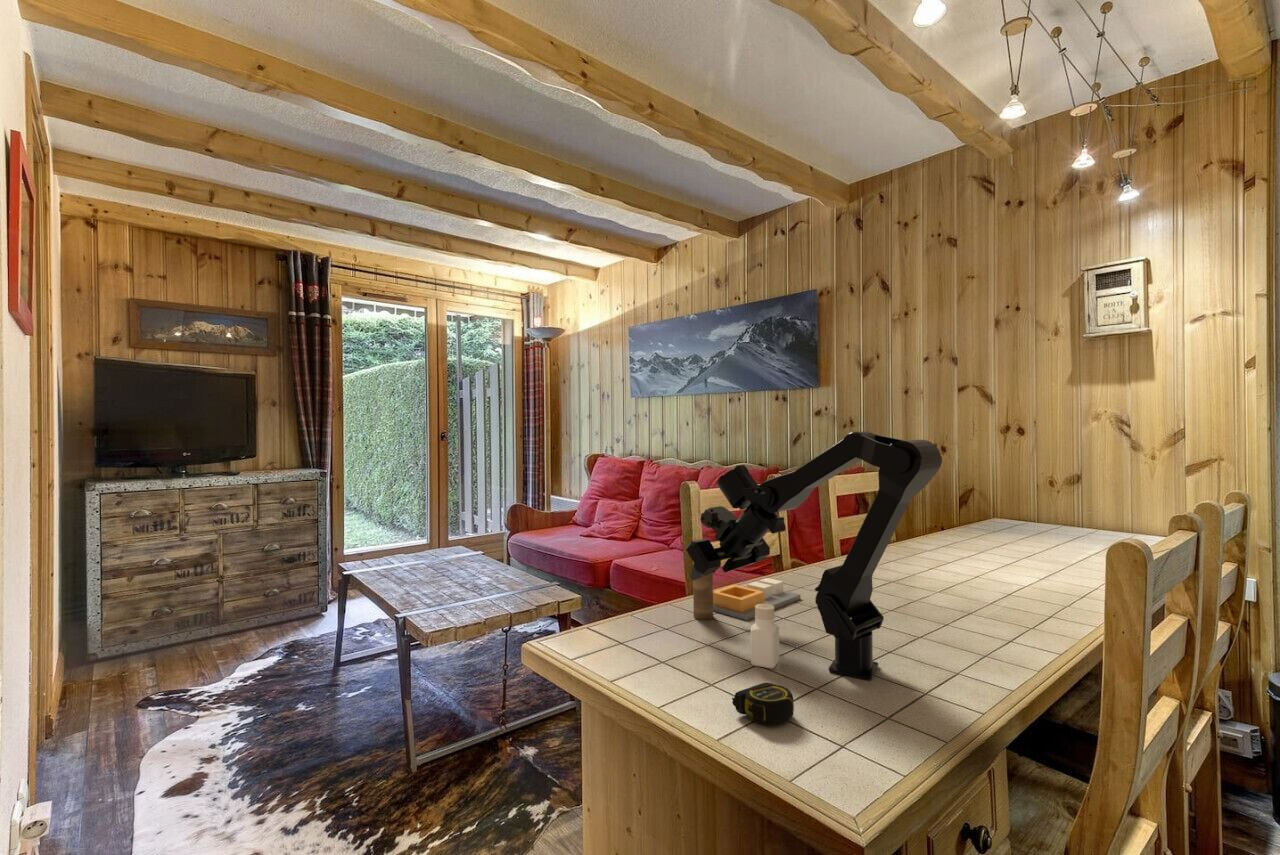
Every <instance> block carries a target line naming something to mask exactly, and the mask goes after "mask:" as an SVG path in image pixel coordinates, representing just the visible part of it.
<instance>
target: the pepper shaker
mask: <svg viewBox="0 0 1280 855" xmlns="http://www.w3.org/2000/svg"><path fill="white" fill-rule="evenodd" d="M775 618H776V617H775V609H774V606H773V605H770V604H757V605H755V618H754V620H755V622H754V623H753V624H752V625H751V628H750V662H751V665H752V666H756V667H761V668H762V667H763V668H766V669H775V667H776V665H778V662H779V660H780V626H779V625H777V624H775Z"/></svg>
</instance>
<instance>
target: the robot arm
mask: <svg viewBox="0 0 1280 855" xmlns="http://www.w3.org/2000/svg"><path fill="white" fill-rule="evenodd" d="M860 461H864V462H865V463H867V464H869V465H870V466H874V467H877V468H878V472H877V473H878V475H877V477H878V489H877V490H878V491H877V493H876V495H875V497H874V500H873V501H872V503H871V506H870V508H869V509H868V511H867V513H866V516H865V518H864V520H863V522H862V524H861V526H860V528H859V530H858V533H857V534H856V536H855V538H854V540H853V542H852V545H851V547H850V548H849V550H848V552H847V555H846V556H845V559H844V562H843V563H842V564H840V565H838V566H834V567H831V568H828V569H825V570H824V571H823V573H822V576H821V577H820V578H821V580H820V581H819V584H818V585H817V586H816V587H815V588H814V591H815V592H817V593H816V595H815V602H814V603H815V604H816V606H817V609H818V611H819V613H820V617H821V620H822V621H821V622H822V623H823V627H824V630H825V633H826V634H828V635H831V636H832V637H833V638H834V660H833V661H832V662H831V663H830V665H829V666H828V671H829V672H831V673H835V674H840V675H845V676H850V677H854V678H859V679H864V680H872V679H873V678H874V676H875V674H876V672H877V669H878V668H879V662H878V661H874V660H873V659H874V657H873V656H874V655H873V653H874V652H873V650H874V648H873V644H874V643H873V642H874V641H873V640H874V639H873V636H874V635H873V631H875V630H878V629H881V627H882V625H883V622H884V615H883V614H882V613H881V611H879V609H878V608H877V607H876V605H875V604H874V603H873V601H872V600H871V597H872V595H873V590H874V589H873V586H874V585H873V576H874V573H875V571H876V569H877V566H878V564H879V563H880V561H881V559H882V557H883V555H884V553H885V551H886V549H887V547H888V545H889V543H890V542H891V540H892V537H893V536H894V533H895V531H896V529H897V527H898V525H899V523H900V521H901V519H902V518H903V516H904V514H905V512H906V510H907V508H908V506H909V504H910V502H911V501H912V499H914V498H915V497H916V496H917V495H918V494H919V493H920V492H921V491H922V490H923V489H924V488H926V487H927V485H928V484H929V483H930V481H932V479H933V478H934V477H935V476H936V474H937V473H938V472H939V470H940V469H941V466H942V463H943V456H942V455H941V452H940V450H939V448H938V447H937V445H936V444H934V443H933V442H931V441H929V440H927V439H910V440H909V439H908V440H907V439H906V440H904V439H901V438H900V439H899V438H894V437H890V436H886V435H880V434H877V433H876V434H875V433H873V432H870V431H868V430H867V431H866V430H865V431H851V432H849V433H847V434H846V435H845V436H844V437H843V439H840V440H839V441H838V442H836V443H835V444H833V445H831V446H829V447H828V448H827V449H825V450H824V451H823V452H821V453H819V454H818V455H817V456H815V457H813V458H812V459H809V461H807V462H806V463H804V464H803V465H800V467H797V469H795V470H793V471H789V472H787V473H784V474H781V475H777V476H774V477H771V478H769V479H767V480H764V481H763V482H761V483H760V484H758V483H757V481H756V480H755V479H754V478H753V476H752V475H751V473H750V472H749V469H748V467H747V466H746V465H745V464H739V465H738V464H737V465H736V466H735V467H734V468H733V469H730V470H729V471H727V472H725V474H723V475H721V476H719V478H718V479H717V481H716V486H717V488H719V490H720V491H721V493H722V495H724V497H725V499H726V500H727V501H728V503H729V504H730V506H731V507H732V508H733V509H739V510H743V512H742V513H741V514H740V515H739V516H738V517H737V515H736V514H734V513H733V512H731V511H730V510H729V509H728V508H726V507H724V506H720V505H719V506H713V507H712V506H711V507H708V508H707V509H704V512H702V513H701V514H700V523H701V524H702V525H703V526H705V527H706V528H707V529H709V528H710V529H711V530H713V532H715V534H714V538H715V540H716V541H718V542H719V547H716V548H715V547H714V546H713V544H712V543H711V540H709V539H706V538H701V539H696V540H692V541H690V543H689V544H688V545H686V549H685V550H686V552H687V553H688V555H689V557H690V559H691V560H692V568H691V571H690V576H689V578H690V579H691V581H692V582H693V581H694V580H696V579H699V578H702V577H704V576H707V575H710V574H712V573H713V574H714V573H716V571H718V570H719V569H720V567H721V566H722V562H723V561H725V562H724V564H723V566H722V567H721V570H722V571H723V572H724V573H729V572H732V571H734V570H737V569H740V568H741V569H742V568H745V567H747V566H750V565H753V564H756V563H758V562H761V561H764V560H766V559H767V558H768V557H769V556H770V555H771V548H770V546H769V544H768V543H767V542H766V540H765V539H764V537H765V536H766V535H767V533H769V532H770V533H771V534H779V533H783V532H786V530H787V528H786V524H785V517H784V516H780V515H779V514H778V513H779V512H786V511H791V510H796V509H797V508H798V507H800V506H801V505H802V504H803V503H804V502H806V501H807V499H808V498H809V497H810V496H811V493H812V492H813V491H814V490H815V489H816V488H817V487H819V486H821V485H823V484H824V483H826V482H827V481H829V480H831V479H832V478H834V477H836V476H837V475H839V474H840V473H842V472H843V471H845V470H847V469H849V468H850V467H851V466H853V465H855V464H857V463H859V462H860ZM693 562H694V563H693Z"/></svg>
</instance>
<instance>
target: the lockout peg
mask: <svg viewBox="0 0 1280 855" xmlns="http://www.w3.org/2000/svg"><path fill="white" fill-rule="evenodd" d="M693 563H694V562H693V561H692V564H693ZM692 586H693V587H692V590H693V591H692V593H693V618H694V619H696V620H700V621H707V620H708V621H709V620H712V619H714V611H713V591H714V573H712V574H710V575H707V576H704V577H702V578H699V579H696V580H694V581H693V580H692Z"/></svg>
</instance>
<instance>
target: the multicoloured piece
mask: <svg viewBox="0 0 1280 855" xmlns="http://www.w3.org/2000/svg"><path fill="white" fill-rule="evenodd" d="M799 600H801V593H796V592H793V591H787V590H784V581H782V580H779V579H773V578H769V577H765V578H763V579H759V580H758V582H757V581H753V582H751V583H748V584H747V586H742V585H737V584H732V585H728V586H726V587H722V588H719V589H717V590H713V612H716V613H720V614H724V615H726V616H730V617H733V618H736V619H741V620H744V621H749V620H752V619H755V605H757V604H770V605H773V606H774V610H776V609H780V608H781V607H784V606H786V605H788V604H789V605H790V604H791V603H794V602H797V601H799Z"/></svg>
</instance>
